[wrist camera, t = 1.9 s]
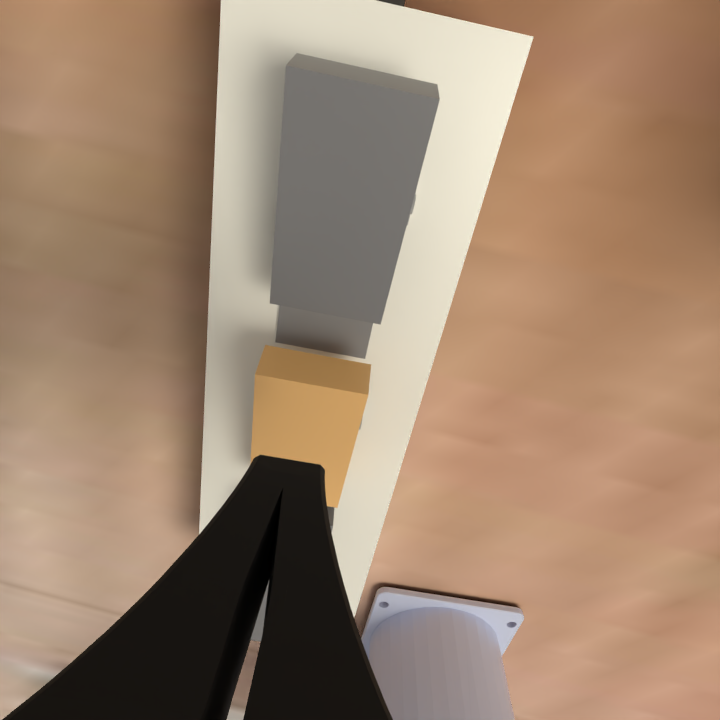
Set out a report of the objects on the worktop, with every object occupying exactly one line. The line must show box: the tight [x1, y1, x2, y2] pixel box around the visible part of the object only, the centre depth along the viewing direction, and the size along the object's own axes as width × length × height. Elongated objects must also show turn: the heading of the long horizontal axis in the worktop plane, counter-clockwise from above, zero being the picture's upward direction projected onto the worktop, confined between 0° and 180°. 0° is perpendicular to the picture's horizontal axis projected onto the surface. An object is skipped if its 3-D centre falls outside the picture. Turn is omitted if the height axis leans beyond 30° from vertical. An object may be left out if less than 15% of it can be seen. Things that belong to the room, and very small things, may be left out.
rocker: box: [270, 53, 440, 325], centre depth 12 cm, size 6×3×1 cm, turn 169°
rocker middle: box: [250, 345, 371, 508], centre depth 15 cm, size 6×3×1 cm, turn 169°
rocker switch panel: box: [199, 0, 533, 617], centre depth 16 cm, size 28×7×4 cm, turn 169°
